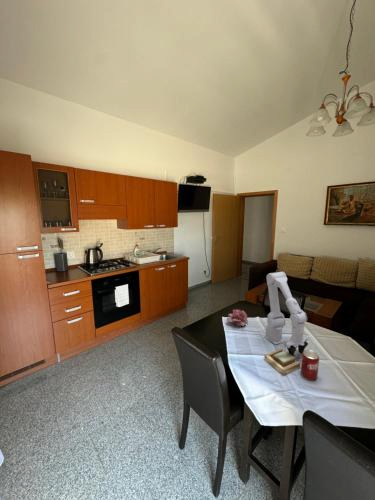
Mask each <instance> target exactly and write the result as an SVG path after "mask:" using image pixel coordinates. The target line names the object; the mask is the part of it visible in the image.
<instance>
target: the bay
mask: <svg viewBox="0 0 375 500" xmlns="http://www.w3.org/2000/svg"><path fill="white" fill-rule="evenodd" d="M282 351H284V350H283V349H282V348H278V349H276V350H273V351H271V352H269V353H266V354H264V357H263V359H264V361H265V362H266V363H268V364H269V365H270V366H272V367H273V368H274V369H275V370H276V371H277V372H278V373H279V374H281V375H282V376H286V375H288V374H290V373H292V372H294V371H296V370H298V369H301V363H302V362H300V361H298V360H296V362H295V363H292V364H290V365H288V366H286V367H284V368H283V367H282V366H281V365H280V364H278V363H277V362H276V361H275V360H273V355H275V354H277V353H279V352H282Z"/></svg>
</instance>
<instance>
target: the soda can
mask: <svg viewBox="0 0 375 500" xmlns="http://www.w3.org/2000/svg"><path fill="white" fill-rule="evenodd" d="M300 363H301V364H300V373H301V376H302V377H303V378H304V379H306V380H308V381H316V380H317V379H318V377H319V376H318V375H319V366H320V365H319V364H320V356H319V354H318V353H317V352H316V351H314V350H310V349H304V351H303V352H302V354H301V362H300Z"/></svg>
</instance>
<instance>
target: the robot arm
mask: <svg viewBox="0 0 375 500" xmlns="http://www.w3.org/2000/svg"><path fill="white" fill-rule="evenodd" d="M266 284H267V289H268V297H269V307H270V312H269V313H268V314H267V321H266V323H267V324H266V326H265V335H264V338H266V339H267V340H268V341H270V342H271V343H272V344H274V345H275V346H276V345H279V344H281V343H284V342H285V341H286V340H285V339H284V338H283V328H284V326H286V318H285V315H284V313H282V312H281V308H280V300H279V292H278V291H279V290H278V288H279V289H280V291H281V292H282V295H283V296H284V298H285V300H286V301H285V304H286V307H287V309H288V311H289V314H290V316H289V319H290V322H291V323H290V324H291V338H290V339H288V342H287V341H286V343H285V347H286V349H287V352H288V353H290V354H291V355H293V356H294V357H295V353H296V351H297V352H298V353H299V354H300V355H302V352H303V351H305V350H306V348H307V346H309V342H308V339H309V338H308V337H307V336H306V335H304V334H305V333H304V332H305V323H306V322H308V315H307V313H306V312H305V311H303V309H301V307H300V305H299V303H298V301H297V299H296V298H294V297H293V296H292V293H291V290H290V287H289V285H288V277H287V274H286V273H285V272H284V271H279V272H270V273H268V274H267V275H266ZM295 346H298V348H296V347H295Z"/></svg>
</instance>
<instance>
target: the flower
mask: <svg viewBox="0 0 375 500" xmlns="http://www.w3.org/2000/svg"><path fill="white" fill-rule="evenodd" d="M227 316H228V317H227V318H226V319H227V321H228V322H230V323H232V324H235V325H236V326H239V327H240V328H242V327H245V326H244V325H246V324H247V325H248V324H249V320H248V319H249V318H248V315H247V313H246V312H245V311H244V310H240V309H232V313H228V314H227ZM241 326H242V327H241Z"/></svg>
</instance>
